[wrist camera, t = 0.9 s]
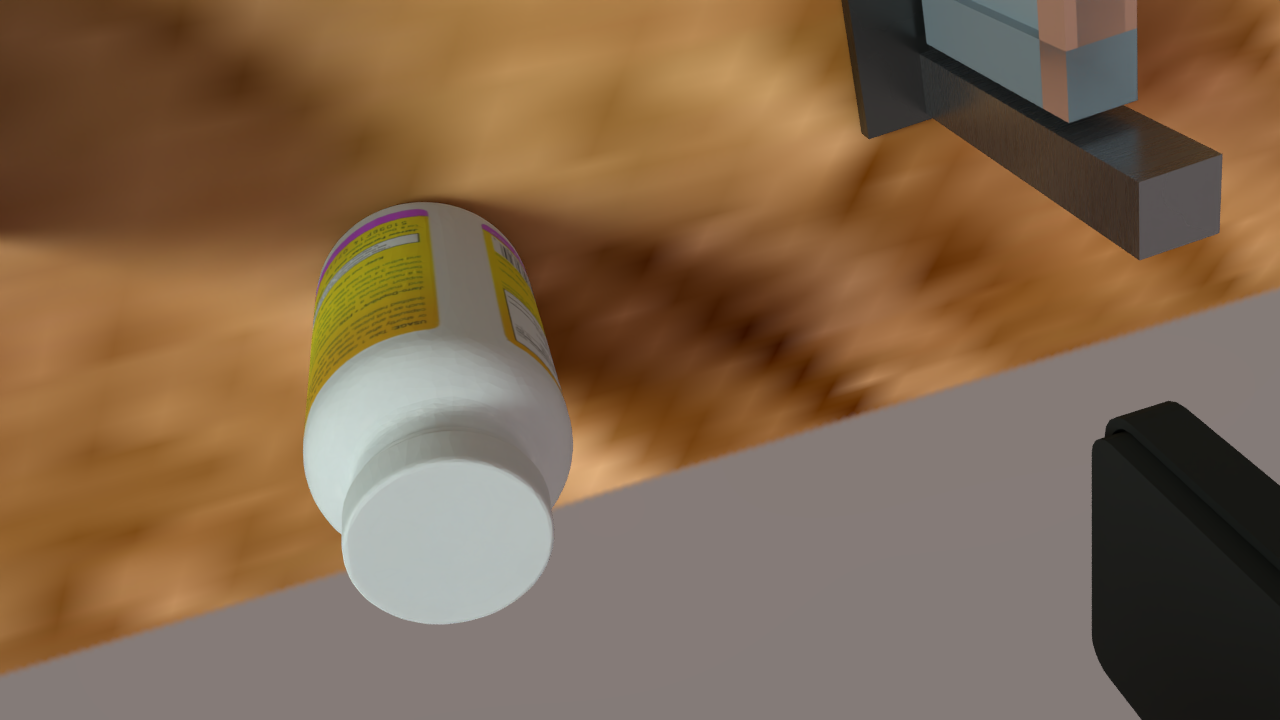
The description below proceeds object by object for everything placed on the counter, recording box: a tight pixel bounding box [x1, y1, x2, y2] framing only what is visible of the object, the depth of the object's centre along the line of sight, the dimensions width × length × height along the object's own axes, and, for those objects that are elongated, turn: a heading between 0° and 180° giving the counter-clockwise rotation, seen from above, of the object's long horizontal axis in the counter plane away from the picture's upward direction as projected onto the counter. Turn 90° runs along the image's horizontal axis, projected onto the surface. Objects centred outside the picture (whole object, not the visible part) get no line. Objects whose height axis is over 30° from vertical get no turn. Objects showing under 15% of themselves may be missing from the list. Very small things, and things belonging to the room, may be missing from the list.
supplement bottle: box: [303, 202, 573, 624], centre depth 29 cm, size 7×7×13 cm
